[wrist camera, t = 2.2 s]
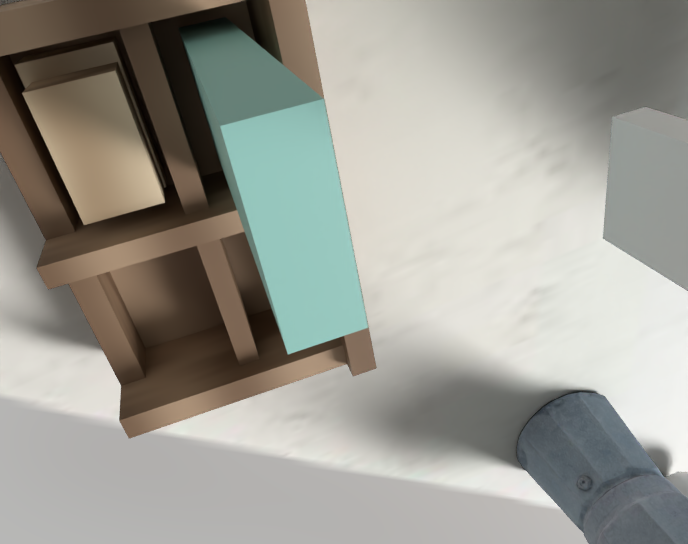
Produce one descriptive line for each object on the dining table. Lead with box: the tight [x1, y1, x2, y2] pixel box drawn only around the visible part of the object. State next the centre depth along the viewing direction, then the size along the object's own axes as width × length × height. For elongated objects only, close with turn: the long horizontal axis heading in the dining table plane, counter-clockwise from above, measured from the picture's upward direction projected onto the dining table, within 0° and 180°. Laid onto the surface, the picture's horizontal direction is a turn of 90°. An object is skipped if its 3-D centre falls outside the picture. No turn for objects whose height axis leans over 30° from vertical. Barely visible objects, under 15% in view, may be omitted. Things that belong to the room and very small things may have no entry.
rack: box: [0, 0, 376, 438], centre depth 25 cm, size 12×18×8 cm, turn 10°
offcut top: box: [22, 62, 165, 225], centre depth 22 cm, size 3×5×2 cm, turn 10°
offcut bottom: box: [15, 35, 167, 188], centre depth 24 cm, size 4×6×2 cm, turn 10°
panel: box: [179, 17, 368, 354], centre depth 19 cm, size 2×6×16 cm, turn 11°
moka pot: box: [517, 392, 688, 544], centre depth 39 cm, size 10×15×20 cm, turn 74°
